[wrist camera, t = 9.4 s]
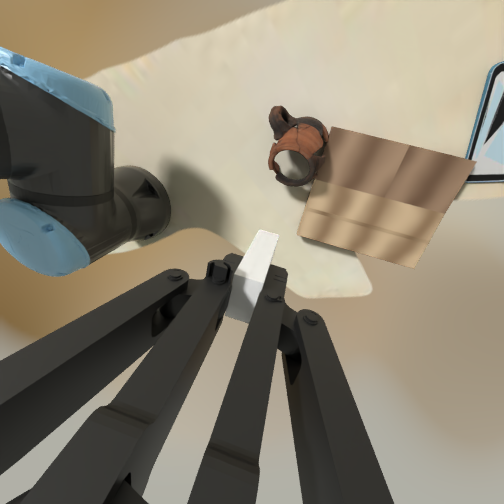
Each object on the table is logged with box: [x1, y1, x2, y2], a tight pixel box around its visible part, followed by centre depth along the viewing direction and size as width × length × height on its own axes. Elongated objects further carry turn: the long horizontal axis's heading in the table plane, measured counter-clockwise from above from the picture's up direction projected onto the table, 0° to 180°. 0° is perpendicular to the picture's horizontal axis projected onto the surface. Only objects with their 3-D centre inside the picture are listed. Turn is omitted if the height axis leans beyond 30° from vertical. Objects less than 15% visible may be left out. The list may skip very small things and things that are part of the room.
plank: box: [297, 179, 444, 269], centre depth 42 cm, size 21×10×2 cm, turn 77°
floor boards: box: [315, 127, 477, 214], centre depth 38 cm, size 21×8×2 cm, turn 77°
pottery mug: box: [268, 106, 329, 187], centre depth 38 cm, size 12×10×8 cm
